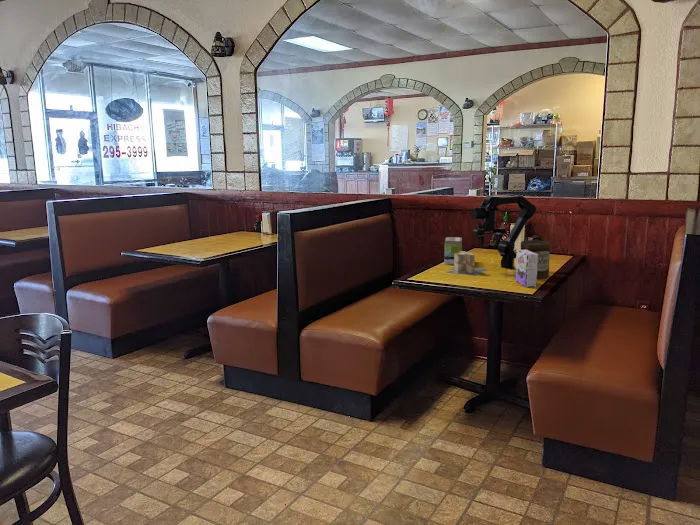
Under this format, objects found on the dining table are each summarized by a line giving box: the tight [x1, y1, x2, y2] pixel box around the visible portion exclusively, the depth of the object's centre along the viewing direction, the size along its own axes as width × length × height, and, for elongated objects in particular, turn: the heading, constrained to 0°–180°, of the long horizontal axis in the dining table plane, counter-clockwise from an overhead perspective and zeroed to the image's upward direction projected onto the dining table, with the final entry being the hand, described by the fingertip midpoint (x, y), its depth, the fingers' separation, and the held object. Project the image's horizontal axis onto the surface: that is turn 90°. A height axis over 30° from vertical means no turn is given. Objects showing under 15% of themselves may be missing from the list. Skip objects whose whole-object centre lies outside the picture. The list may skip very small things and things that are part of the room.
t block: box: [453, 250, 476, 273], centre depth 306 cm, size 8×12×10 cm, turn 18°
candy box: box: [515, 249, 538, 288], centre depth 276 cm, size 14×6×16 cm, turn 5°
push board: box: [446, 267, 488, 277], centre depth 307 cm, size 17×18×2 cm
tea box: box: [443, 236, 463, 265], centre depth 331 cm, size 15×10×15 cm, turn 168°
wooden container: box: [520, 234, 551, 280], centre depth 292 cm, size 15×15×22 cm
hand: (489, 247), depth 309 cm, fingers open, 9 cm apart
